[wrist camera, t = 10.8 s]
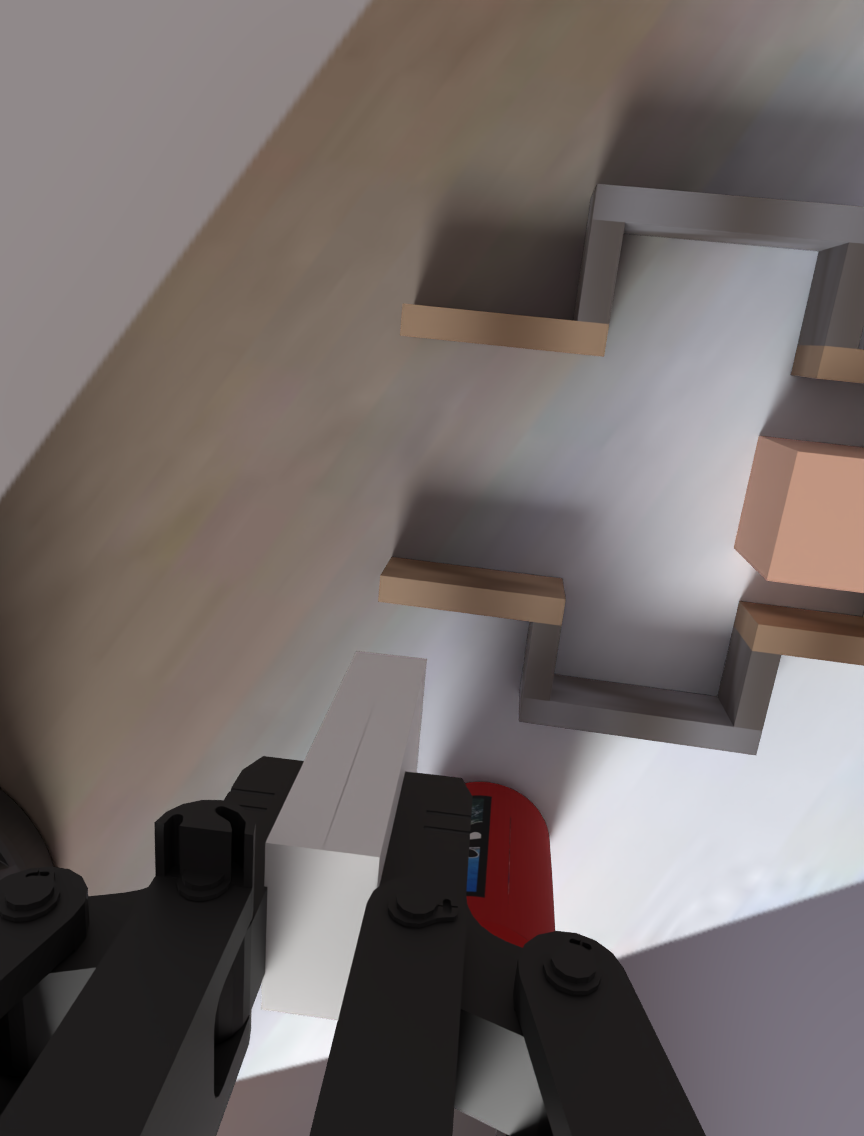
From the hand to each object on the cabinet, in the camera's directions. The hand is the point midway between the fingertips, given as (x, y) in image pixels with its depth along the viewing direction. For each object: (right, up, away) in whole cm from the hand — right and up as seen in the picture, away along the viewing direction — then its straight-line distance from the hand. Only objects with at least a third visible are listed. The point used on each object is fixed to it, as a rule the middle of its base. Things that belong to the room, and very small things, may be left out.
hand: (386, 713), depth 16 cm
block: (+17, +6, +17) cm, 25 cm away
